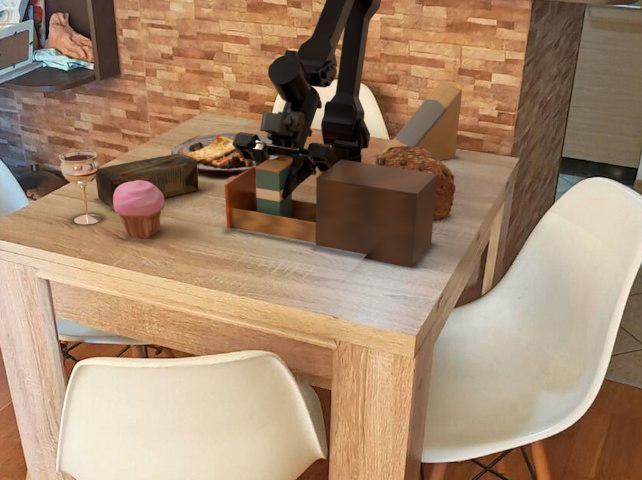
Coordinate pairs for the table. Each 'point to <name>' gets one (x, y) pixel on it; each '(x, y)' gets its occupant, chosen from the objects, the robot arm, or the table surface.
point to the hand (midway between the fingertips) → (270, 195)
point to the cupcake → (139, 207)
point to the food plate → (216, 152)
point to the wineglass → (81, 176)
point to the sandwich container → (434, 123)
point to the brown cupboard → (375, 211)
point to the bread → (425, 163)
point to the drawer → (246, 216)
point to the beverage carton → (150, 176)
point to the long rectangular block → (273, 188)
